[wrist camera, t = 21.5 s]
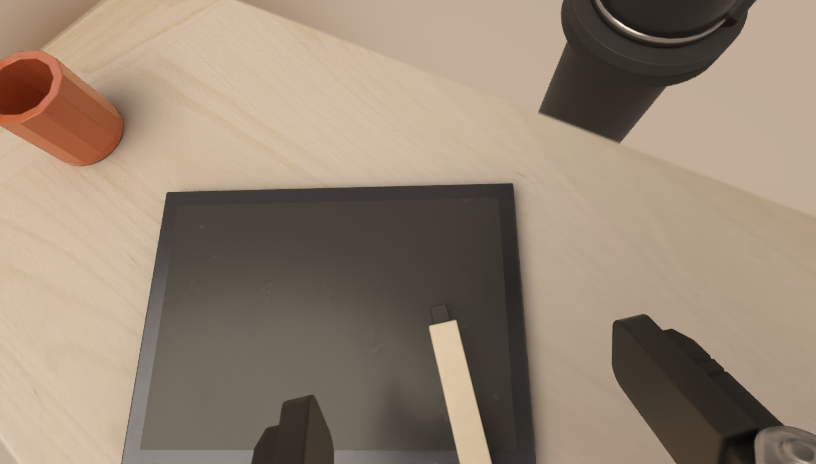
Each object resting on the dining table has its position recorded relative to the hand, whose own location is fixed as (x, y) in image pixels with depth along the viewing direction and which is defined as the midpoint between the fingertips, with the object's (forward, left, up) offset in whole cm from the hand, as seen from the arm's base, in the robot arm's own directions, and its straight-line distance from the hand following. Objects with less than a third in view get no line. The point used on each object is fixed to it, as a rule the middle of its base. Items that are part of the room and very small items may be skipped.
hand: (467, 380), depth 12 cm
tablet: (+7, -3, -14) cm, 16 cm away
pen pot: (+25, -16, -14) cm, 33 cm away
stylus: (0, -4, -12) cm, 13 cm away
